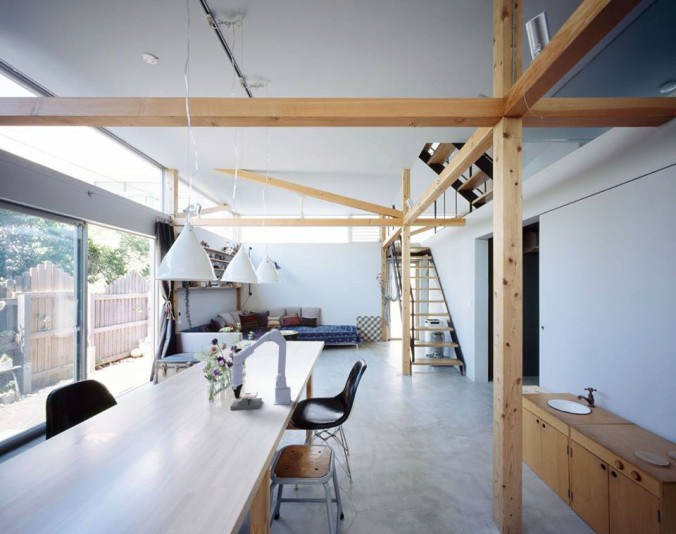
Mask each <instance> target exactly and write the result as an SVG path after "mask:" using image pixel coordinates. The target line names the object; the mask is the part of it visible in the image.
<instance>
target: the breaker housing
mask: <svg viewBox="0 0 676 534" xmlns="http://www.w3.org/2000/svg"><path fill="white" fill-rule="evenodd" d="M246 394H251V392H246V393H245V394H244V395H246ZM262 403H263V398H262V397H260V398H259V397H258V398H257V397H256V398H252V399H248V398H243V399H242V401H238V402H235V400H233V402H232V403H231V405H230V411H236V410H237V411H238V410H257V409H260V407H261V405H262Z"/></svg>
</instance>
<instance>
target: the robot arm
mask: <svg viewBox="0 0 676 534" xmlns="http://www.w3.org/2000/svg"><path fill="white" fill-rule="evenodd" d="M266 342H267V343H268V342H273V343H276V344H277V346H278V362H277V375H276V377H275V386H274V396H275V397H274V398H275V399H274V402H273V406H280V405H291V400H292V397H291V394H292V393H291V386H288V385H287V378H286V359H287V345H288V344H287V340H286V339H285V337H284V335H283V333H282V332H281V331H280V330H279V329H277V328H272V329H270V331H267V332H266V333H265V334H263V335H262V336H261V337H259V338H258V339H257V340H256V341H255V342H253V344H251V345H250V344H247V345H245V346H244V347H243V348H242V349H241V350H240V351H237V353H236V354H235V355H234V356H233V357H232V381H230V385H231V389H232V391H233V394H234V398H235V399H236V398H239V396H241V391H242V388H243V386H244V384H243V383H244V381H243V380H244V379H243V373H244V372H243V371H244V369H243V368H244V365H243V364H244V363H243V362H244V360H247V359H248V358H249V357H251V355H253V354H254V353H255V350H256V349H257V348H259V347H260V346H262V345H263V344H264V343H266Z"/></svg>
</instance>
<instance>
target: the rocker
mask: <svg viewBox="0 0 676 534" xmlns="http://www.w3.org/2000/svg"><path fill="white" fill-rule="evenodd" d="M250 393H251V392H250ZM245 394H246V393H245ZM245 394H242V395H241V394H240V396H239V398H235V399H234V401H235V402H238V401H242V399H243V398H248V399H254V398H257V397H258V394H259V393H258V391H257V392H252V393H251V394H246V395H245Z"/></svg>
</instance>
